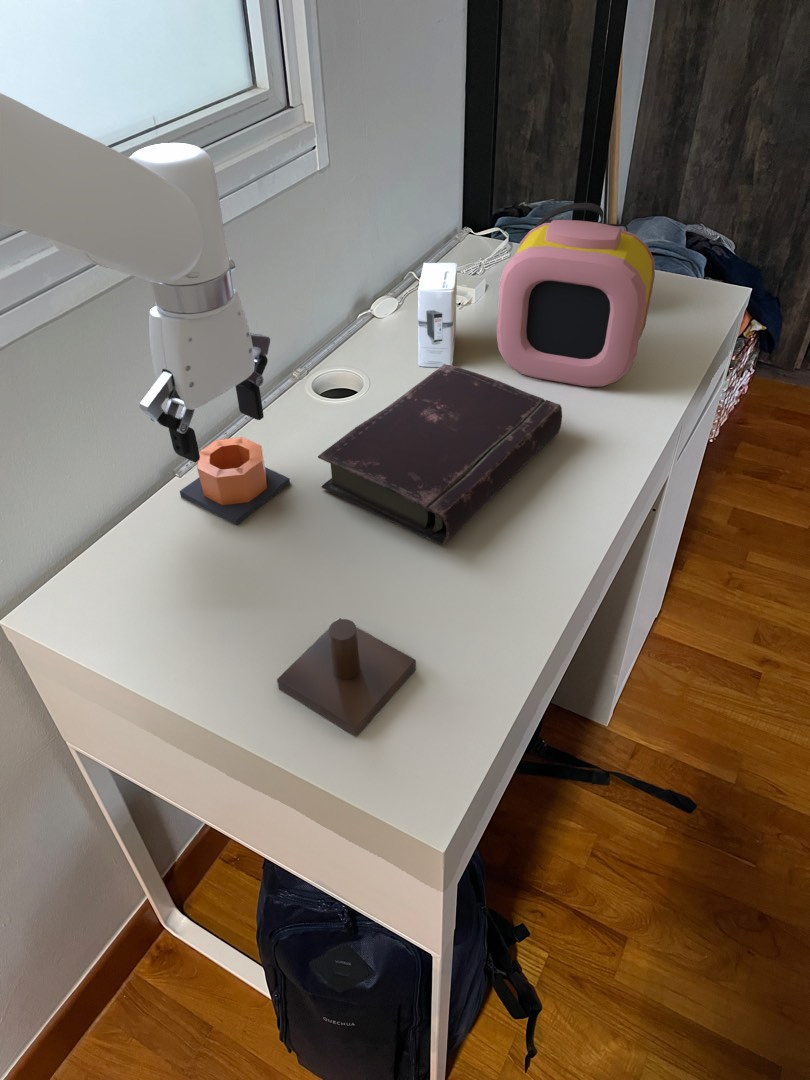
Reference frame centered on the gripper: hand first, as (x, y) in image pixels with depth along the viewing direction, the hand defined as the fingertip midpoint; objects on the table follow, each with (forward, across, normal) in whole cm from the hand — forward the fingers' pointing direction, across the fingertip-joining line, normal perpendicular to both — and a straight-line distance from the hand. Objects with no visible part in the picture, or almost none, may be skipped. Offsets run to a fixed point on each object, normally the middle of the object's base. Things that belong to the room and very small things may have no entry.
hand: (221, 435), depth 90 cm
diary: (+8, -19, +17) cm, 26 cm away
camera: (+7, -64, +11) cm, 65 cm away
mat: (+8, -1, 0) cm, 8 cm away
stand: (+8, +13, +28) cm, 32 cm away
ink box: (+7, -40, +2) cm, 40 cm away
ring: (+7, -1, 0) cm, 7 cm away
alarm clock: (+7, -47, +19) cm, 51 cm away
